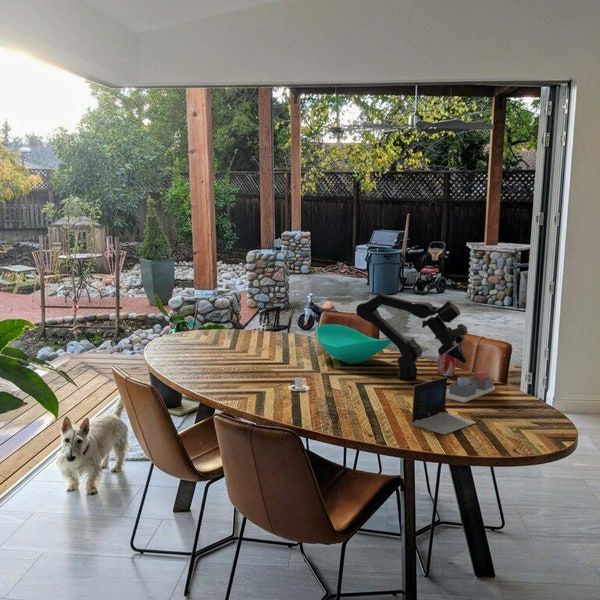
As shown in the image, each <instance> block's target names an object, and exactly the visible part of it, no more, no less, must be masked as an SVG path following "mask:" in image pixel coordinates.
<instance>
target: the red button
mask: <svg viewBox="0 0 600 600" xmlns="http://www.w3.org/2000/svg"><path fill="white" fill-rule="evenodd" d="M474 375H475V378H476V379H481V380H486V379H487V377H488V372H487V371H484V370H476V371H475V374H474Z"/></svg>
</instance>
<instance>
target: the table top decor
mask: <svg viewBox="0 0 600 600" xmlns="http://www.w3.org/2000/svg"><path fill="white" fill-rule="evenodd" d="M315 334H316V338H317V341H318V343H319V344H320V345H321V347H322V348H323V350H324V351H325V352H326V353H327V354H329V356H331V357H332V358H334V359H336V360H339V361H341V362H343V363H347V364H361V363H364V362H365V361H367V360H369V359H370V358H372V357H373V356H375V355H377V354H379V353H380V352H381V351H383V350H385V349H386V348H387V347H389V346H390V345H391V344H392V341H391V340H390V339H388V338H387V339H384V340H381V339H377V338H373V337H369V336H367V335H365V334H364V333H362V332H360V331H358V330H356V329H353V328H351V327H349V326H345V325H341V324H333V323H332V324H330V323H329V324H322V325H318V326H317V327H316V329H315Z"/></svg>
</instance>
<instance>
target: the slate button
mask: <svg viewBox="0 0 600 600" xmlns="http://www.w3.org/2000/svg"><path fill="white" fill-rule="evenodd" d="M456 382H457V385H460V386H464V387H467V386H469V383H470V379H469V378H468V377H463V376H462V377H461V376H458V377H457V379H456Z"/></svg>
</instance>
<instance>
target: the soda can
mask: <svg viewBox="0 0 600 600" xmlns="http://www.w3.org/2000/svg"><path fill="white" fill-rule="evenodd" d="M448 352H449V351H447V352H445V353H444V354H443V355H442V356H441V355H440V354H439V353H438V359H437V373H438V374H439V375H440V376H441V375H443V376H442V377H447V376H449V377H452V376H454V375H455V372H456V363H457V361H456V360H457V359H456V358H454V357H452V356H450V355H448V354H446V353H448Z"/></svg>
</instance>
